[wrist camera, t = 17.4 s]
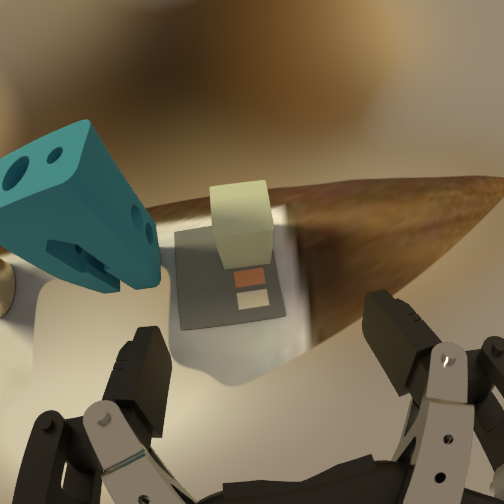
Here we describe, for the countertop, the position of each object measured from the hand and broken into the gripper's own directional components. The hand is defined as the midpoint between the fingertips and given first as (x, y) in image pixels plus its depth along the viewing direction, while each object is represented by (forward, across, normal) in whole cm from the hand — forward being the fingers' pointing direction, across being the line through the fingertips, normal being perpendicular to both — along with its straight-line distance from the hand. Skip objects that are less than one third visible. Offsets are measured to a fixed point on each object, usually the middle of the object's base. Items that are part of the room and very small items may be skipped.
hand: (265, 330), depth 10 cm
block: (+21, +14, +6) cm, 26 cm away
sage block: (+21, 0, +5) cm, 22 cm away
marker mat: (+19, +2, +7) cm, 21 cm away
